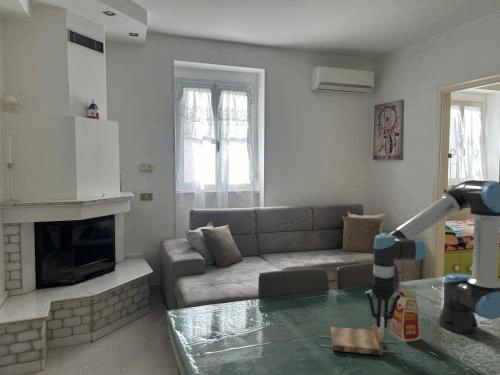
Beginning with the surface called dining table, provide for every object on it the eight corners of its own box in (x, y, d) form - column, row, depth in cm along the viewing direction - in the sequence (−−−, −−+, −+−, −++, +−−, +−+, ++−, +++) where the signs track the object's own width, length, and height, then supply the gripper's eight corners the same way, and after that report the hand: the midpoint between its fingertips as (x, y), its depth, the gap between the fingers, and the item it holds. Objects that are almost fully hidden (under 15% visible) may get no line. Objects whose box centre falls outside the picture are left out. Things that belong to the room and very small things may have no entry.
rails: (396, 342, 146) (396, 342, 146) (401, 354, 137) (401, 353, 137) (319, 336, 151) (319, 335, 151) (320, 346, 143) (320, 345, 143)
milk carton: (403, 342, 147) (405, 292, 146) (388, 331, 156) (390, 285, 155) (422, 339, 150) (424, 291, 148) (407, 329, 158) (408, 284, 157)
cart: (375, 334, 152) (375, 322, 151) (383, 356, 134) (383, 342, 134) (330, 330, 155) (330, 318, 155) (332, 351, 138) (333, 338, 137)
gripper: (398, 273, 144) (396, 332, 145) (364, 271, 146) (362, 329, 147) (403, 279, 137) (401, 341, 138) (367, 277, 139) (365, 338, 140)
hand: (381, 335), depth 143 cm, fingers closed
